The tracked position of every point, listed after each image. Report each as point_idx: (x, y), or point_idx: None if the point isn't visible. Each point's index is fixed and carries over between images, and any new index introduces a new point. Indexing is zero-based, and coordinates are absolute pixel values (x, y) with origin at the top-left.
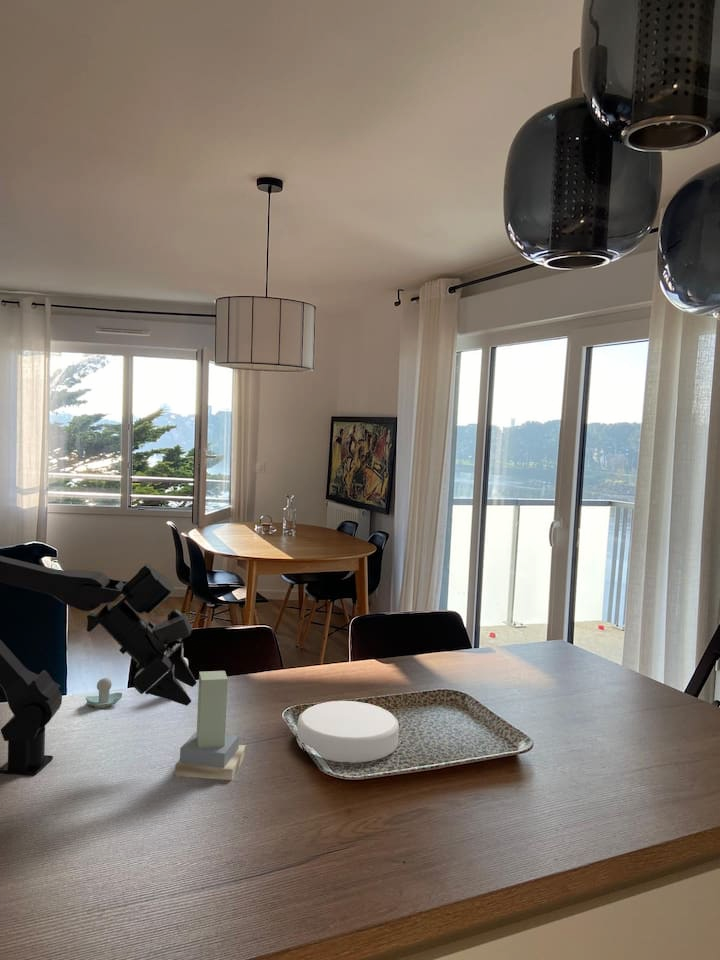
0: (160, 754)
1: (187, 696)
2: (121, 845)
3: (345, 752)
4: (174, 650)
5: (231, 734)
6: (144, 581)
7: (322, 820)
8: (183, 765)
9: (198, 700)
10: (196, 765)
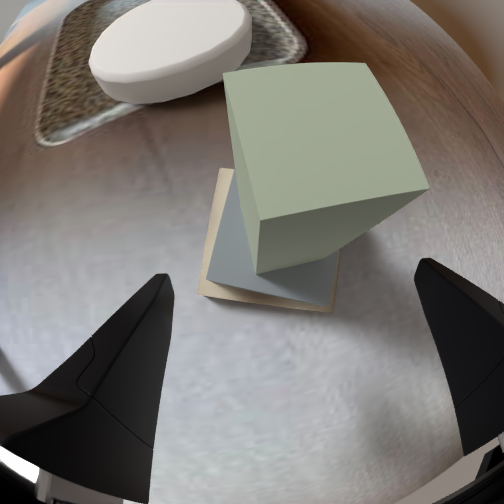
0: (224, 363)
1: (450, 270)
2: None
3: (250, 35)
4: (46, 478)
5: (231, 185)
6: None
7: (414, 90)
8: (333, 293)
9: (278, 252)
10: None
